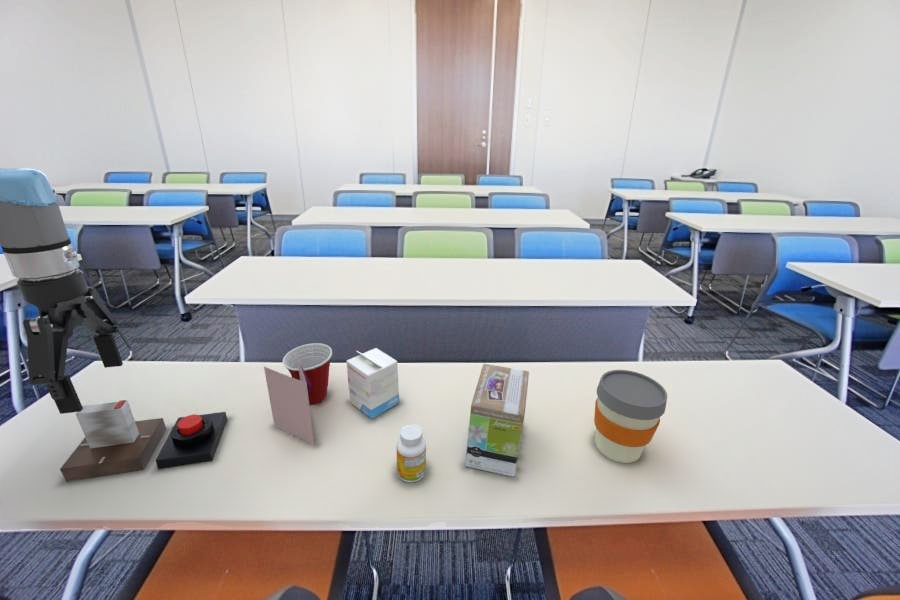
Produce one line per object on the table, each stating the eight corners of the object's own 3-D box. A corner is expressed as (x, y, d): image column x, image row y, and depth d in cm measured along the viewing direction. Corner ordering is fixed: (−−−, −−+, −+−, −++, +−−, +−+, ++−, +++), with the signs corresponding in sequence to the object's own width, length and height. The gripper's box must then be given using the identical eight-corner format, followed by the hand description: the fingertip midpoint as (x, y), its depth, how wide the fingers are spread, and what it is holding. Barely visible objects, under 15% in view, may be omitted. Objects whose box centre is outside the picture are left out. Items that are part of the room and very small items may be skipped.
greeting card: (319, 443, 81) (311, 382, 75) (280, 455, 77) (268, 392, 71) (308, 410, 90) (301, 353, 84) (273, 420, 87) (262, 361, 81)
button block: (158, 469, 73) (152, 452, 72) (180, 425, 84) (176, 410, 82) (212, 461, 76) (208, 444, 74) (227, 419, 86) (224, 404, 85)
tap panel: (65, 482, 70) (58, 468, 69) (98, 437, 80) (93, 425, 79) (143, 470, 73) (138, 457, 72) (166, 428, 83) (162, 416, 82)
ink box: (400, 403, 93) (399, 354, 88) (370, 420, 88) (367, 368, 82) (377, 387, 99) (375, 340, 93) (348, 402, 93) (344, 353, 88)
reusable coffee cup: (592, 418, 91) (604, 362, 85) (652, 438, 85) (669, 380, 79) (580, 454, 80) (593, 393, 75) (648, 479, 75) (668, 416, 69)
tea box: (516, 478, 74) (525, 415, 68) (464, 467, 76) (468, 405, 70) (522, 425, 88) (529, 368, 82) (477, 417, 90) (481, 361, 84)
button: (176, 436, 76) (174, 429, 75) (183, 422, 80) (181, 415, 79) (199, 433, 77) (198, 426, 76) (205, 420, 81) (204, 413, 80)
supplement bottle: (397, 461, 77) (396, 421, 73) (425, 460, 78) (425, 420, 74) (396, 484, 72) (395, 443, 68) (426, 482, 73) (426, 441, 69)
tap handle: (89, 448, 73) (74, 413, 70) (97, 439, 76) (82, 404, 72) (133, 442, 75) (121, 407, 72) (139, 433, 77) (127, 399, 74)
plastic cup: (285, 390, 96) (279, 348, 91) (331, 380, 101) (327, 338, 96) (292, 418, 87) (284, 372, 83) (341, 404, 92) (337, 360, 87)
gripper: (22, 303, 52) (79, 431, 60) (117, 249, 74) (148, 348, 82) (-51, 308, 50) (18, 439, 58) (68, 251, 72) (106, 352, 80)
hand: (94, 386), depth 70 cm, fingers open, 13 cm apart
